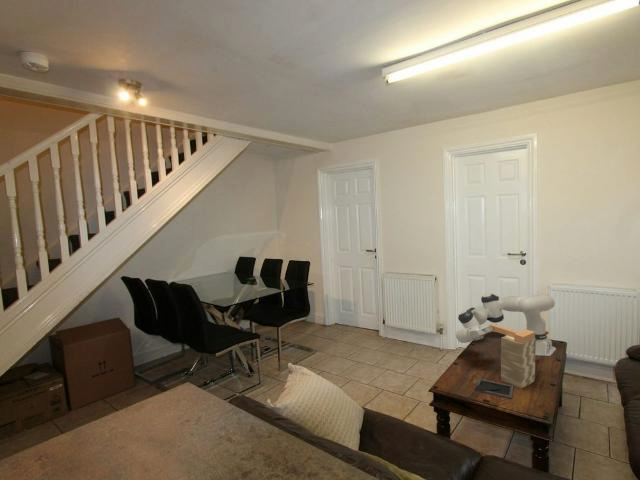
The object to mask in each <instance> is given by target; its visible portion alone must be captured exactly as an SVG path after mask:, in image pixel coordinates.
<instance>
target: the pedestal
mask: <svg viewBox="0 0 640 480" xmlns="http://www.w3.org/2000/svg"><path fill="white" fill-rule="evenodd" d="M535 350H536V338H535V339H533V340H531V341H529V342H526V343H524V344H522V343H519V342H516V341H514V337H511V336H508V335H504V336H501V339H500V381H502V382H505V384H508V385H512V386H514V387H516V388H518V389H521V390H522V389H524V388H526V387H528V386H529V385H531V384H532V383H534V382H536V381H535V380H536V378H535V358H536V355H535Z"/></svg>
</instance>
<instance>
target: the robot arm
mask: <svg viewBox="0 0 640 480" xmlns="http://www.w3.org/2000/svg"><path fill="white" fill-rule="evenodd" d="M480 298H481V303H482V306H476V307H474V306H473V307H470V308H468V309H465V310H463V311H462V312H460V313H459V314H458V321H459V323H461V325H462V326H463V328H462V329H460V330H458V331H457V332H456V333H455V337H456V339H457V341H458V343H460V344H461V343H462V344H467V343H470V342H473V341H479V340H482V339H484V338H485V335H486V334H489V333H491V332H493V331H492V330H494V328H493V327H489V325H490V324H488V325H486V326H482V325H484V324H486V322H487V321H489V322H490V323H492V324H495V325H498V324H497V323H501V322H502V321H504V320H505V319H504V318H505V317H504V313H503V311H507V312H511V313H512V312H514V313H515V312H516V313H517V312H518V313H523V314H524V316H525V319H526V320H525V321H526V329H527V330H530V331H533V332H535V338H536V350H535V356H545V357H551V356H552V355H553V354H554V353H555V351H557V348H556V347H555V346H554V345H553V341H552V340H551V339H550V338H549V337H548V335H549V331H548V330H546V325H547V323H546V320H545V319H544V318H542V315H541V312H546V311H549V310H551V309H554V307H555V304H556V303H555V300H554V298H553V297H552V296H551V295H549V294H533V295H531V294H530V295H517V296H516V295H515V296H505V297H502V298H500V296H498V295H496V294H494V293H486V294H484V295H482V296H481V297H480ZM502 310H503V311H502Z"/></svg>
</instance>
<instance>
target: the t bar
mask: <svg viewBox="0 0 640 480" xmlns="http://www.w3.org/2000/svg"><path fill="white" fill-rule="evenodd" d="M488 325H489V327H493V328H494V330H492V331H491V332H496V333H499V334H502V335H504V336H507V335H508V336H511V337H514V341H516V342H519V343H522V344H524V343H526V342H529V341H531V340H533V339H535V332H533V331H530V330H527V328H526V329H523V330H520V331H517V330H514V329H511V328H508V327H504V326H501V325H498V324H497V325H495V324H494V323H491V324H488Z"/></svg>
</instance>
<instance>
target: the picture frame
mask: <svg viewBox="0 0 640 480" xmlns="http://www.w3.org/2000/svg"><path fill="white" fill-rule="evenodd" d="M514 387H515V386H513V385H511V384H508V383H501V382H498V381H493V380H489V379H484V378H478V380H477V383H476V385H475V389H474V390H475V392H479V393H483V394H487V395H492V396H495V397H500V398H504V399H508V400H513V393H514Z"/></svg>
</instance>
